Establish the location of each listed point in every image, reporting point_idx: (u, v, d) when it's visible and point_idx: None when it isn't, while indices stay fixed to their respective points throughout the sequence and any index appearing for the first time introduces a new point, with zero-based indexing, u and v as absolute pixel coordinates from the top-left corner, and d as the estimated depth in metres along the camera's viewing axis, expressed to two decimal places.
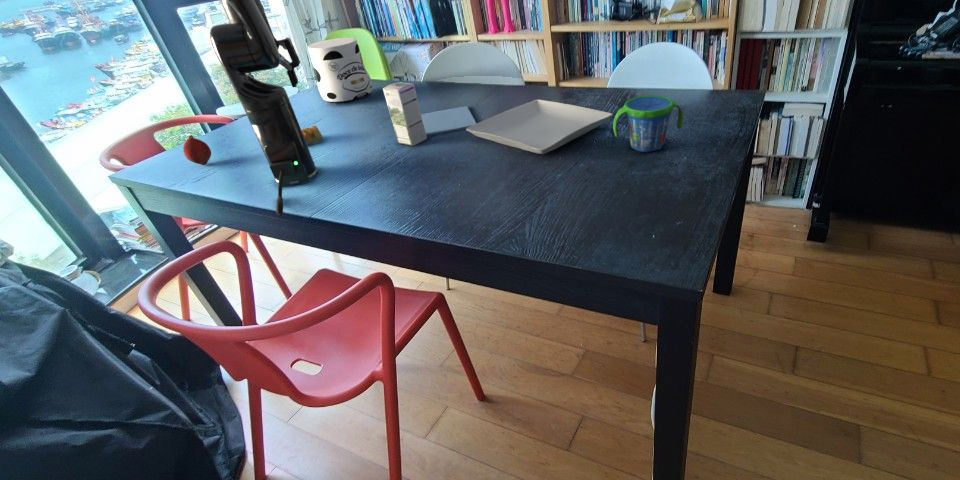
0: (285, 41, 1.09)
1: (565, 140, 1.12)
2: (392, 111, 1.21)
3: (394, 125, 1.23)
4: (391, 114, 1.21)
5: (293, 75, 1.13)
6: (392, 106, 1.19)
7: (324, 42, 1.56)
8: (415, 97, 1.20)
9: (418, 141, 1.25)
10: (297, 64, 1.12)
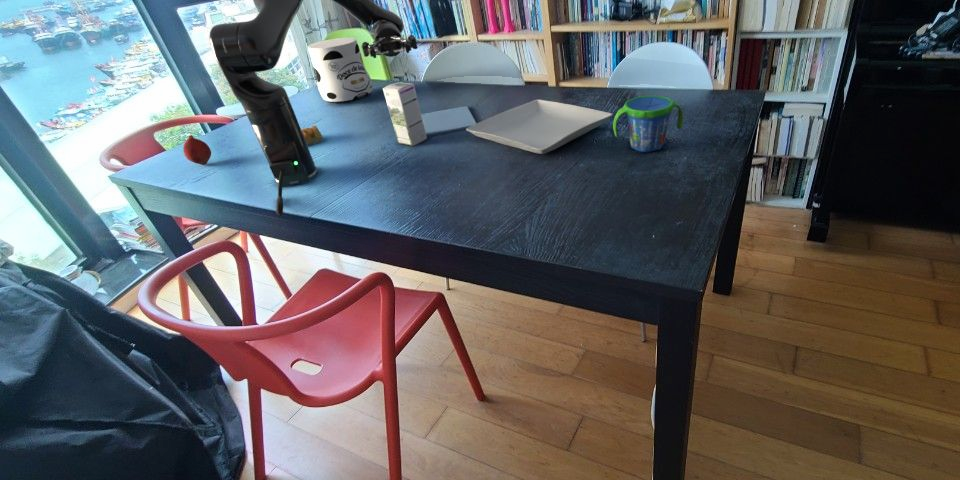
0: (410, 35, 1.32)
1: (565, 140, 1.12)
2: (392, 111, 1.21)
3: (394, 125, 1.23)
4: (391, 114, 1.21)
5: (408, 43, 1.26)
6: (392, 106, 1.19)
7: (324, 42, 1.56)
8: (415, 97, 1.20)
9: (418, 141, 1.25)
10: (414, 38, 1.28)
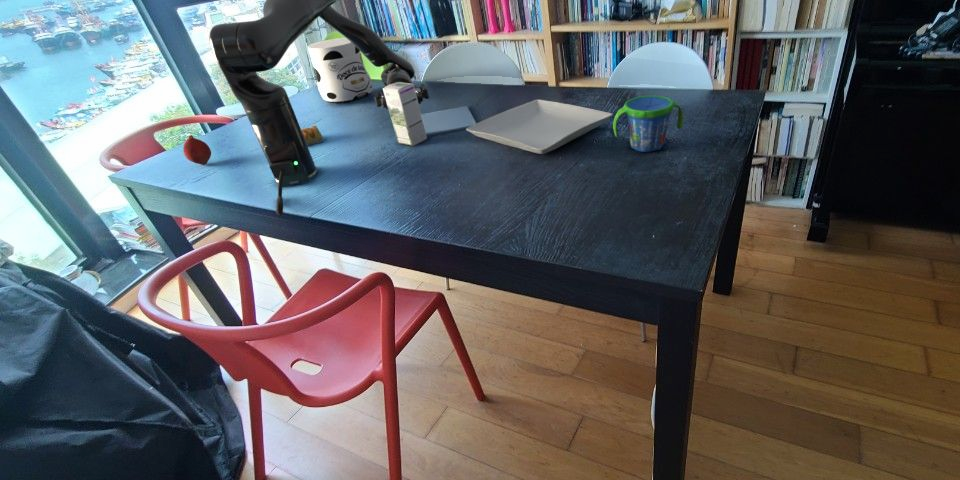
0: None
1: (565, 140, 1.12)
2: (392, 111, 1.21)
3: (394, 125, 1.23)
4: (391, 114, 1.21)
5: (420, 94, 1.29)
6: (392, 106, 1.19)
7: (324, 42, 1.56)
8: (415, 97, 1.20)
9: (418, 141, 1.25)
10: (425, 89, 1.31)
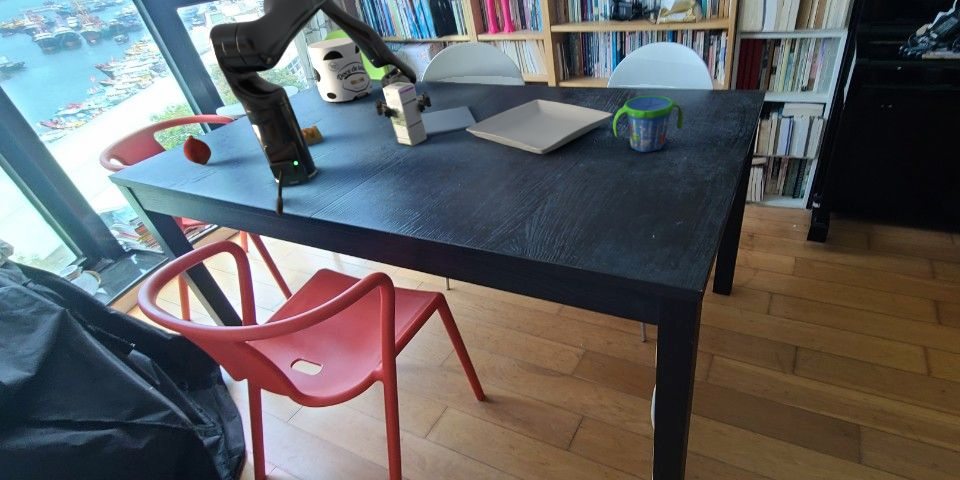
0: (424, 92, 1.28)
1: (565, 140, 1.12)
2: (392, 111, 1.21)
3: (394, 125, 1.23)
4: (391, 114, 1.21)
5: (422, 102, 1.23)
6: (392, 106, 1.19)
7: (324, 42, 1.56)
8: (415, 97, 1.20)
9: (418, 141, 1.25)
10: (428, 96, 1.25)
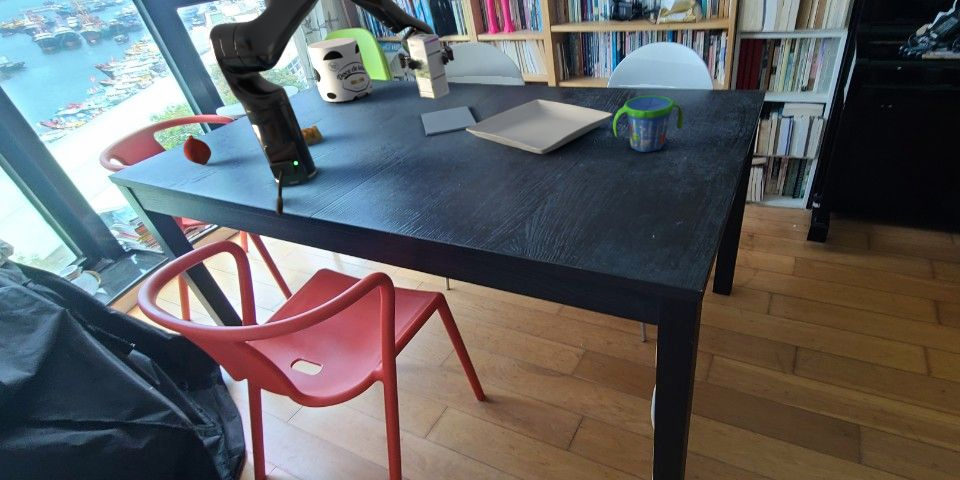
0: (446, 46, 1.28)
1: (565, 140, 1.12)
2: (416, 63, 1.20)
3: (417, 78, 1.23)
4: (415, 67, 1.21)
5: (445, 55, 1.23)
6: (416, 57, 1.19)
7: (324, 42, 1.56)
8: (439, 49, 1.20)
9: (441, 95, 1.25)
10: (451, 50, 1.24)
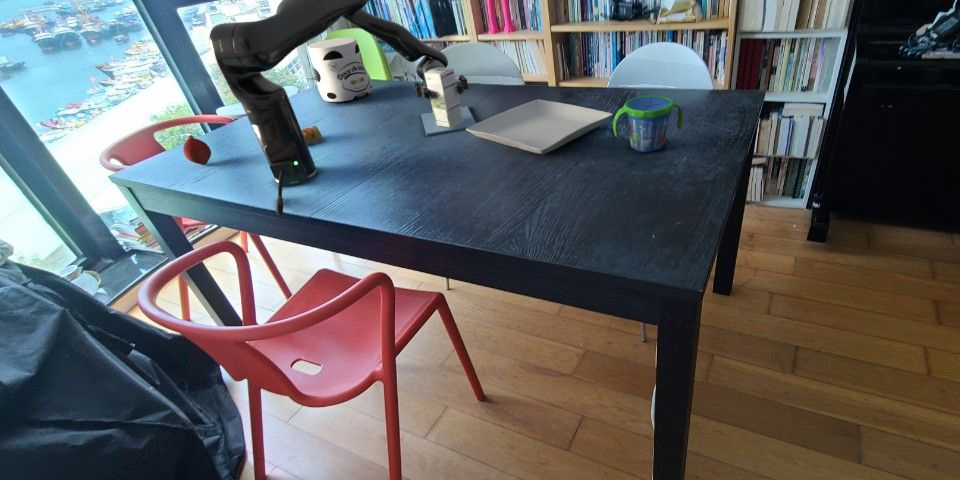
0: (460, 75, 1.34)
1: (565, 140, 1.12)
2: (432, 95, 1.27)
3: (433, 108, 1.30)
4: (431, 98, 1.28)
5: (460, 84, 1.29)
6: (433, 90, 1.26)
7: (324, 42, 1.56)
8: (454, 81, 1.27)
9: (456, 124, 1.31)
10: (465, 79, 1.31)
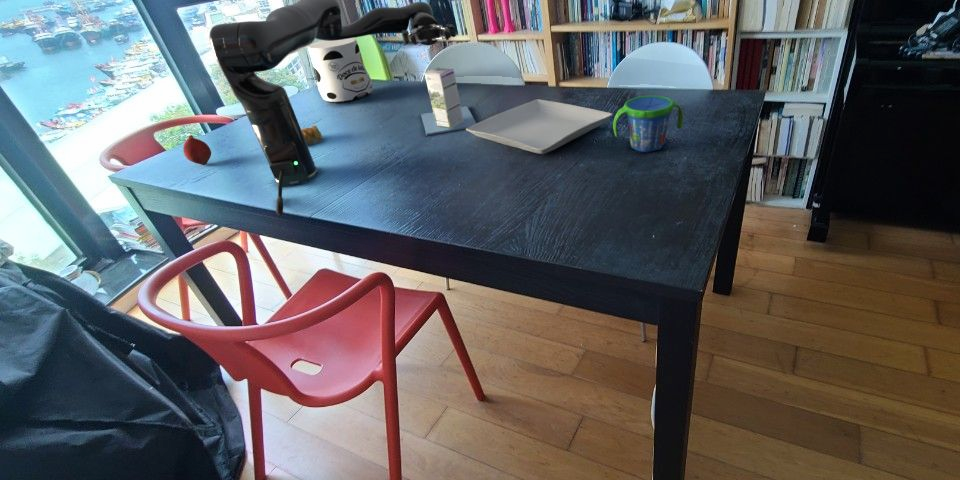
0: (448, 24, 1.34)
1: (565, 140, 1.12)
2: (432, 95, 1.27)
3: (433, 108, 1.30)
4: (431, 98, 1.28)
5: (447, 30, 1.29)
6: (433, 90, 1.26)
7: (324, 42, 1.56)
8: (454, 81, 1.27)
9: (456, 124, 1.31)
10: (453, 26, 1.31)
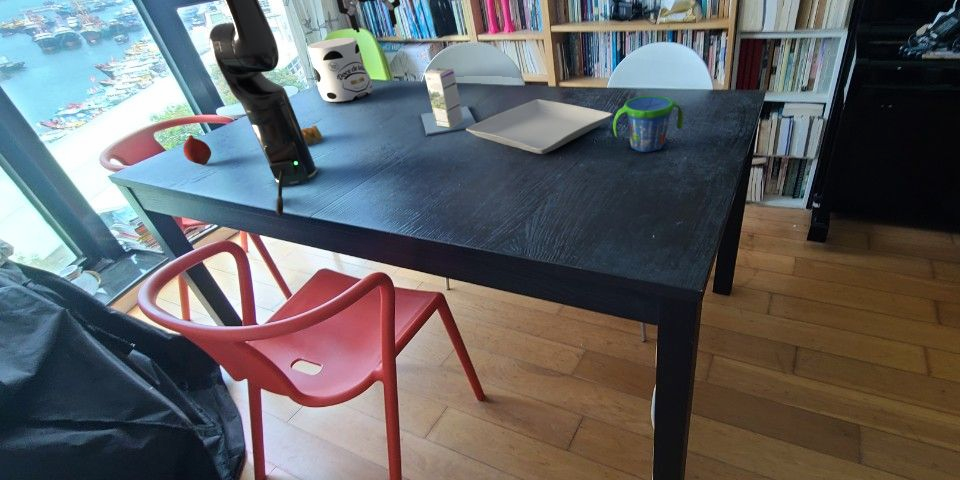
0: None
1: (565, 140, 1.12)
2: (432, 95, 1.27)
3: (433, 108, 1.30)
4: (431, 98, 1.28)
5: (393, 15, 1.16)
6: (433, 90, 1.26)
7: (324, 42, 1.56)
8: (454, 81, 1.27)
9: (456, 124, 1.31)
10: (399, 3, 1.15)
